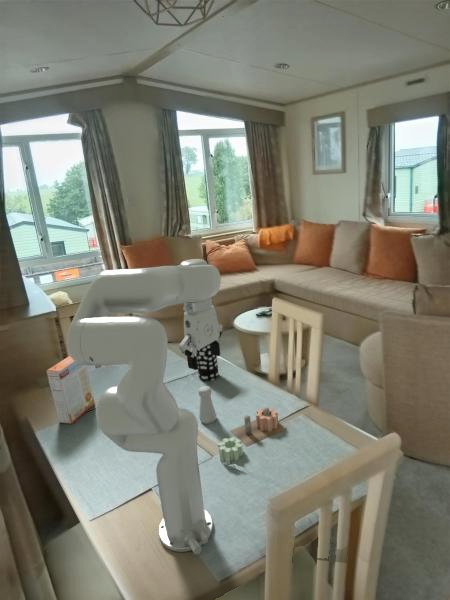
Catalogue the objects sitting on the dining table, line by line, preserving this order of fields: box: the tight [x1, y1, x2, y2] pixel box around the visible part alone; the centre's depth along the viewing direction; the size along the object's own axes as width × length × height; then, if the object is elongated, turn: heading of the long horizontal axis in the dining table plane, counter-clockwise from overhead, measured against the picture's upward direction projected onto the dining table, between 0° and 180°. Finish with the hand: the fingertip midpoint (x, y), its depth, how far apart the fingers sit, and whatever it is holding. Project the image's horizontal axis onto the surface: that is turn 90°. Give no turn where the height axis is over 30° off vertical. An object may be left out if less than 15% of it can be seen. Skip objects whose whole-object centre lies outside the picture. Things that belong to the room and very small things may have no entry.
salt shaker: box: [197, 385, 217, 425], centre depth 137 cm, size 6×6×13 cm
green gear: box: [217, 436, 244, 466], centre depth 120 cm, size 7×7×4 cm
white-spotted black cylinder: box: [195, 344, 220, 382], centre depth 169 cm, size 8×8×20 cm
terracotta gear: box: [255, 407, 279, 432], centre depth 132 cm, size 7×7×4 cm
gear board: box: [229, 407, 287, 447], centre depth 130 cm, size 10×15×7 cm, turn 120°
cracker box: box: [46, 355, 96, 425], centre depth 150 cm, size 14×6×21 cm, turn 161°
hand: (204, 361), depth 118 cm, fingers open, 9 cm apart
